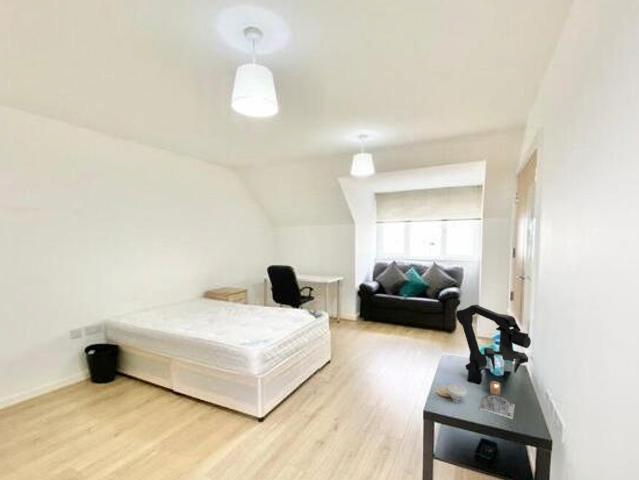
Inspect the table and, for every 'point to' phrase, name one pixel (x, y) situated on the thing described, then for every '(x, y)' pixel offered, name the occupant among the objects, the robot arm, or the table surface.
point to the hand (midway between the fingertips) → (504, 371)
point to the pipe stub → (494, 388)
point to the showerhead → (456, 391)
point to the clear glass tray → (498, 406)
